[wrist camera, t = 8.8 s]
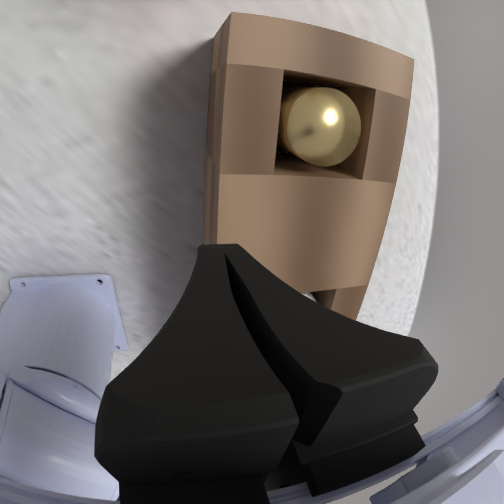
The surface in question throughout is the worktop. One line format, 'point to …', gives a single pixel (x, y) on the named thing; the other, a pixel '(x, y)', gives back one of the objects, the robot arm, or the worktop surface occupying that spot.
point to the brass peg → (318, 125)
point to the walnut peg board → (294, 168)
